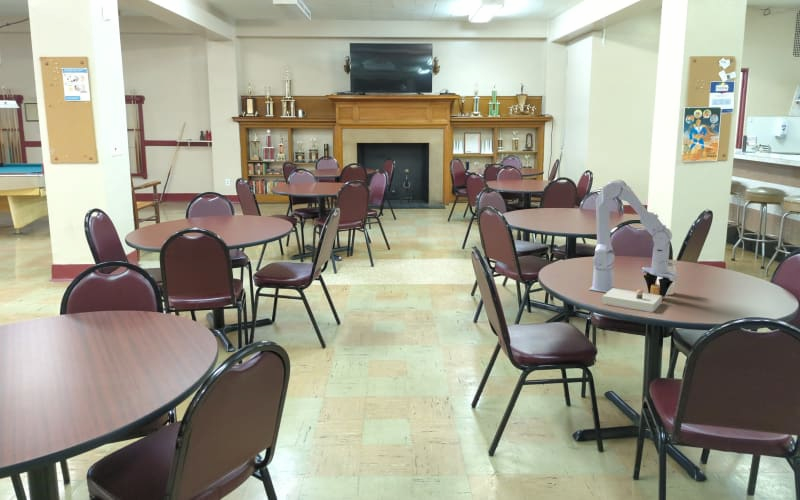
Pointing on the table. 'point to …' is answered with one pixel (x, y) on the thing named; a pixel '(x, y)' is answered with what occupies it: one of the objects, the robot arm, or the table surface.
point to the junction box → (632, 299)
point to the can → (670, 290)
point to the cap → (655, 289)
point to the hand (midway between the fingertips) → (656, 294)
